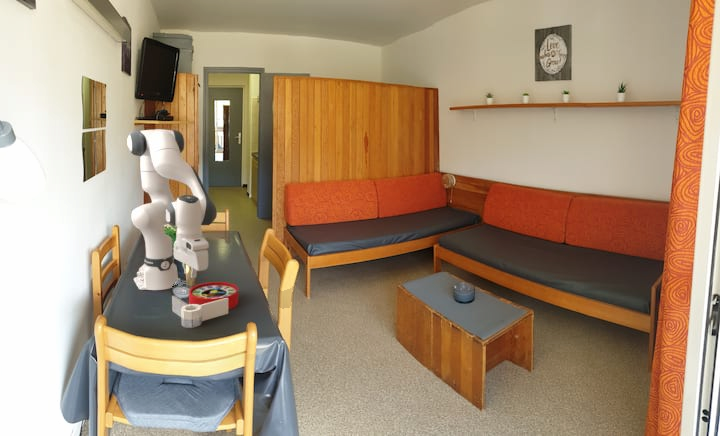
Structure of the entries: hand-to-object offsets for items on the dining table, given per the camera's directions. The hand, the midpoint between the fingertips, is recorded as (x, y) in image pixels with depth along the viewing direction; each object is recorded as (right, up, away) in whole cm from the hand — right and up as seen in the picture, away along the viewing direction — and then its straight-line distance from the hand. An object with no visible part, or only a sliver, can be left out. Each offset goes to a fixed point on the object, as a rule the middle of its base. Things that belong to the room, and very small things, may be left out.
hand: (190, 275), depth 169 cm
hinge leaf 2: (+3, -18, +8) cm, 20 cm away
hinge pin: (0, -3, +1) cm, 4 cm away
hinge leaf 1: (-5, -18, +8) cm, 20 cm away
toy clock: (+1, -15, +25) cm, 29 cm away
